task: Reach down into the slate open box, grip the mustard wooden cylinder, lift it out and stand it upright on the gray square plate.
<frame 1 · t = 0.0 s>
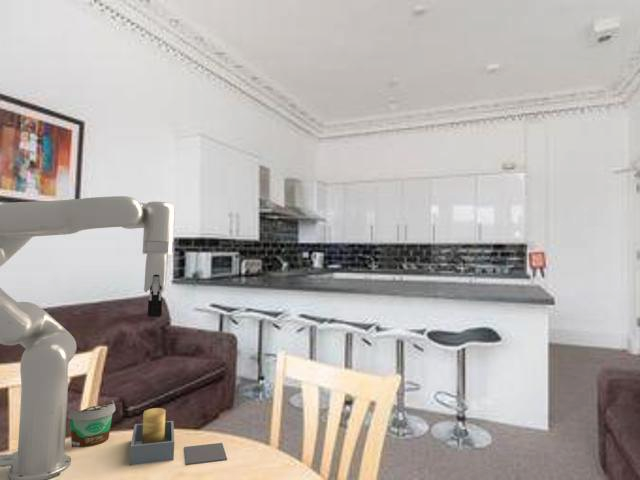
hand: (154, 314, 113), 37 cm above the table, tool pointing down, fingers open, 9 cm apart
slate open box: (152, 451, 114), on the table
gray square plate: (205, 455, 113), on the table
mustard cylinder: (152, 449, 114), resting on slate open box
food container: (94, 445, 118), on the table
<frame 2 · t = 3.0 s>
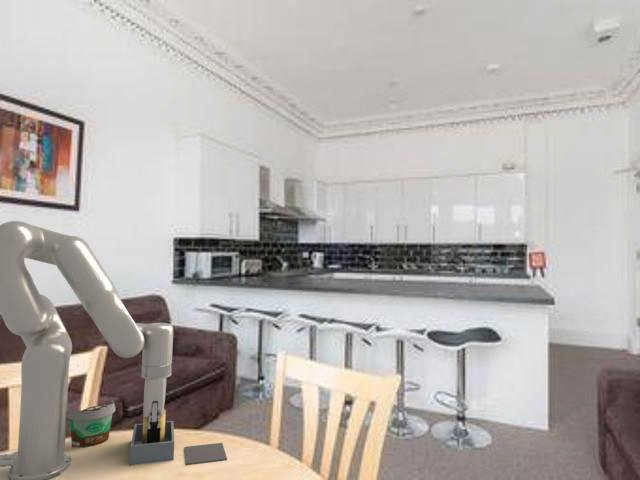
hand: (153, 438, 114), 4 cm above the table, tool pointing down, fingers closed on mustard cylinder, 5 cm apart
mustard cylinder: (152, 449, 114), point 1 cm above the table, touching gripper, slate open box
everything else where it was.
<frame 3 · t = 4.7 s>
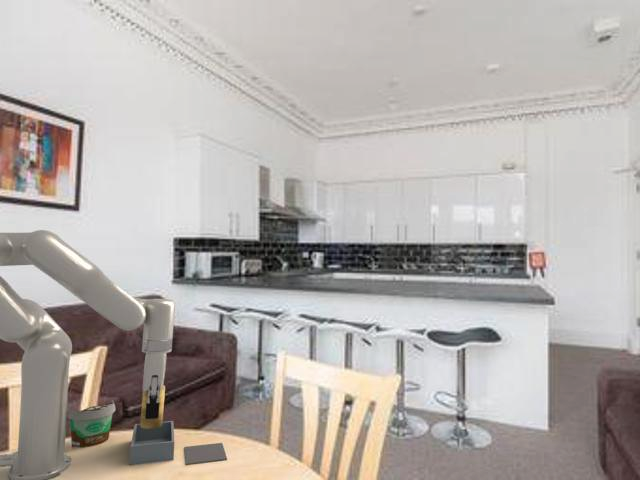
hand: (152, 413, 114), 10 cm above the table, tool pointing down, fingers closed on mustard cylinder, 5 cm apart
mustard cylinder: (151, 425, 114), point 7 cm above the table, touching gripper
everything else where it was.
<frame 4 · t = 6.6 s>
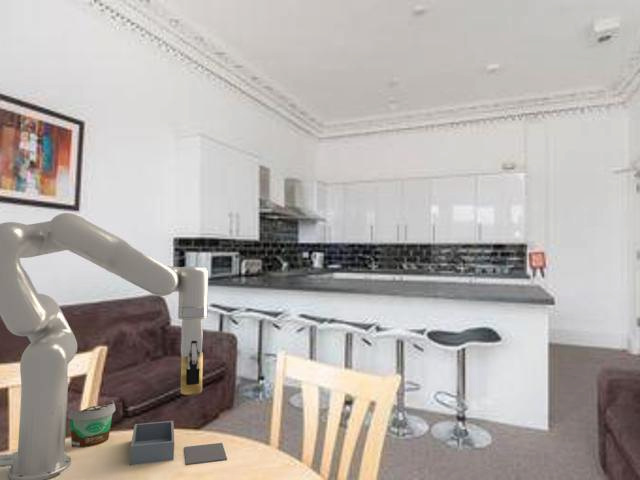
hand: (191, 380, 115), 19 cm above the table, tool pointing down, fingers closed on mustard cylinder, 5 cm apart
mustard cylinder: (191, 391, 114), point 16 cm above the table, touching gripper
everything else where it was.
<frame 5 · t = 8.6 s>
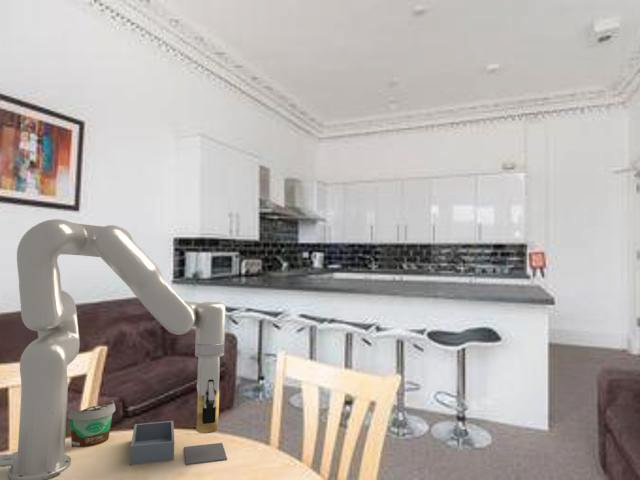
hand: (207, 417, 114), 10 cm above the table, tool pointing down, fingers closed on mustard cylinder, 5 cm apart
mustard cylinder: (207, 429, 113), point 7 cm above the table, touching gripper
everything else where it was.
when the fingers open (5 cm above the table, at t = 10.3 s): mustard cylinder drops 2 cm, resting on gray square plate.
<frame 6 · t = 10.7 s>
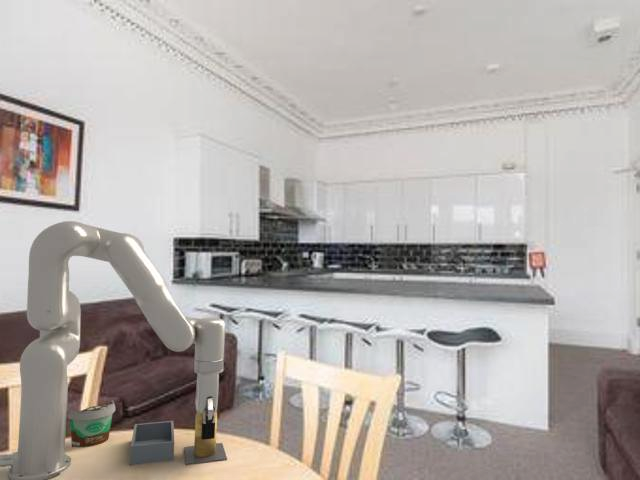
hand: (206, 431, 113), 6 cm above the table, tool pointing down, fingers open, 9 cm apart
mustard cylinder: (204, 452, 113), point 1 cm above the table, touching gray square plate
everything else where it was.
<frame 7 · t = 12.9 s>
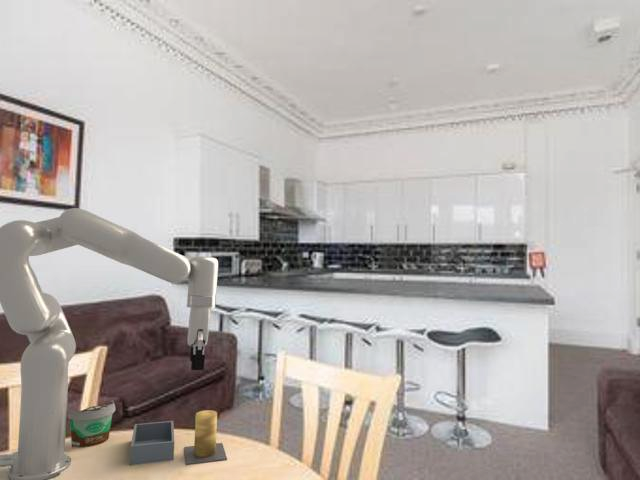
hand: (196, 365, 117), 23 cm above the table, tool pointing down, fingers open, 9 cm apart
nothing on the table moved.
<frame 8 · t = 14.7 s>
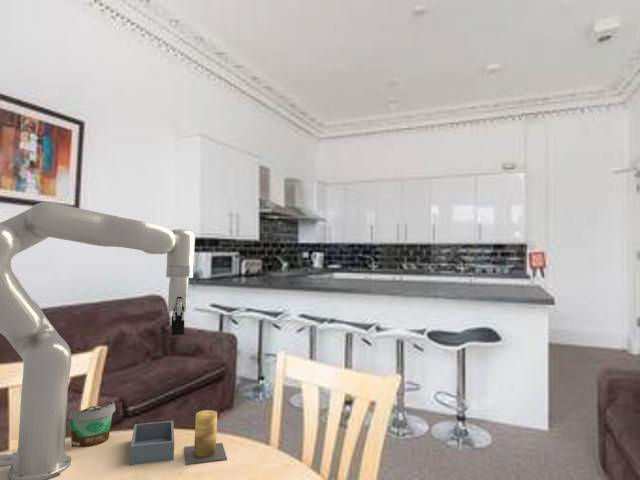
hand: (177, 331, 124), 30 cm above the table, tool pointing down, fingers open, 9 cm apart
nothing on the table moved.
at the end: mustard cylinder 0.1 cm off-centre on the gray square plate, point 0.8 cm above the gray square plate's base; mustard cylinder tilted 0°; the gripper is holding nothing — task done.
